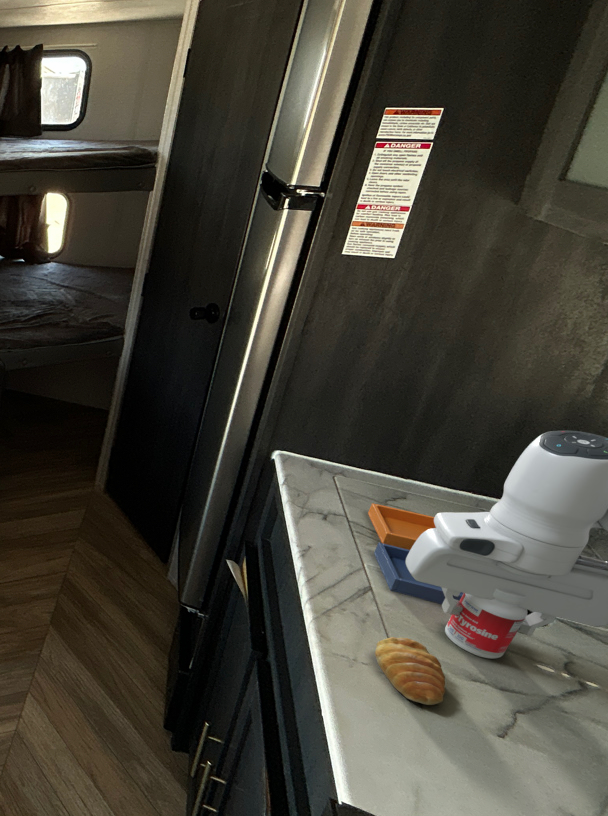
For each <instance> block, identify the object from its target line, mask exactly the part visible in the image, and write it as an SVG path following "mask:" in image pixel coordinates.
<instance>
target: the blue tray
mask: <svg viewBox="0 0 608 816" xmlns="http://www.w3.org/2000/svg"><path fill="white" fill-rule="evenodd" d="M409 551H410V550H408V549H404V548H400V547H395V546H391V545H387V544H383V543H382V542H378V543H377V545H376V548H375V549H374V552H373V555H374V557H375V559H376V562H377V564H378V566H379V568H380V571H381V573H382V575H383V577H384V580H385V582H386V584H387V586H388V589H389V590H390V591H391V592H395V593H399V594H401V595H405V596H409V597H413V598H417V599H420V600H424V601H428V602H431V603H436V604H439V605H442V604H443V602H444V600H445V596H444V593H443V590H442V588H441V587H439V586H435V585H431V584H428V583H424V582H420V581H417V580H415V579H414V578H413V576H412V575H411V574H410V572H409V570H408V568H407V566H406V558H407V555H408V553H409ZM462 595H463V593H462V592H460V594H459V596H458V597H457V596H454V595H453V598H454V599H456V600H459V601H460V599H461V597H462Z"/></svg>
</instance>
